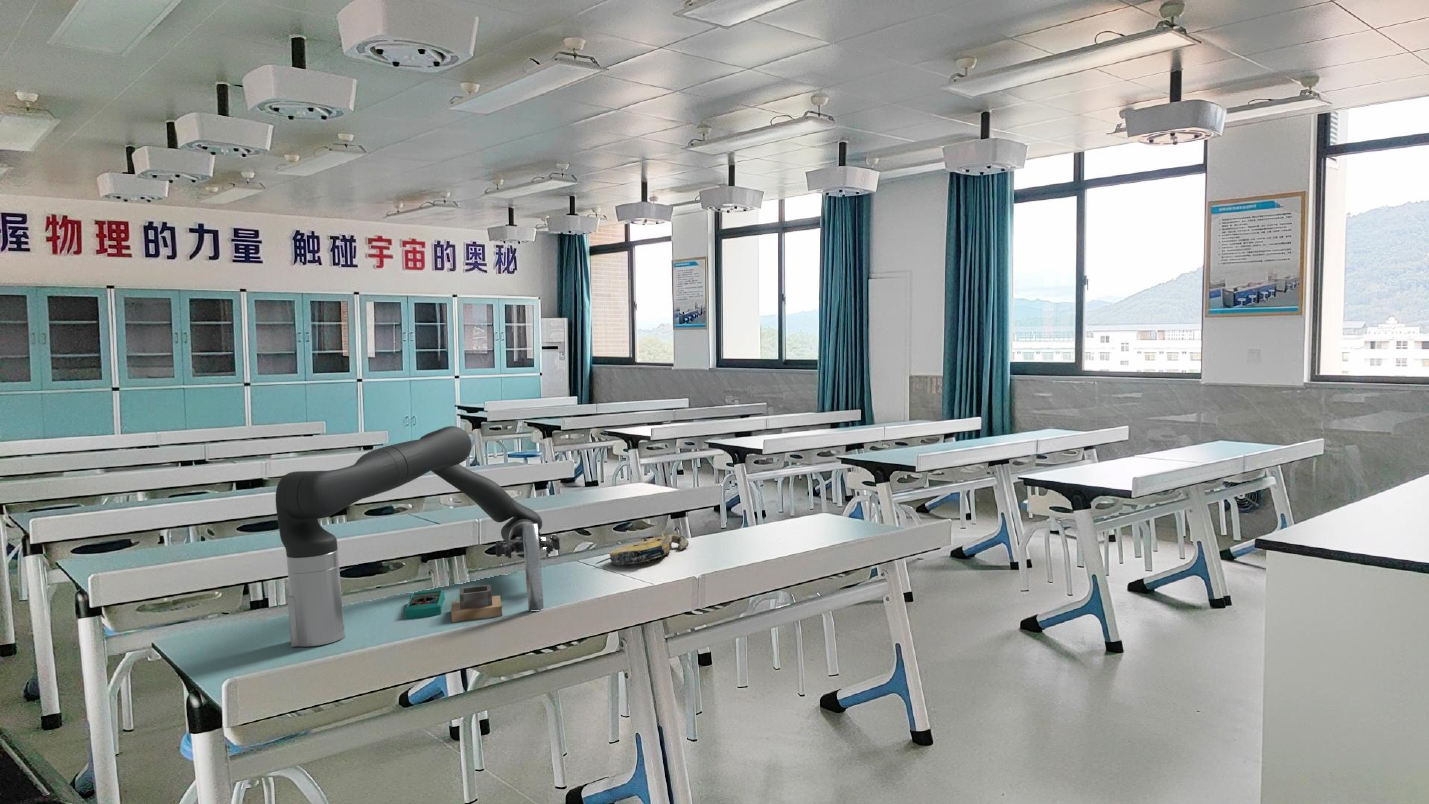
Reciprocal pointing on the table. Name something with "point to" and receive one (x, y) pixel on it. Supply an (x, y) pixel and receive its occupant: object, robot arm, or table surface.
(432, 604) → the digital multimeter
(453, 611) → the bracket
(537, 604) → the rod
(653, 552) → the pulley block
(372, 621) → the table surface
